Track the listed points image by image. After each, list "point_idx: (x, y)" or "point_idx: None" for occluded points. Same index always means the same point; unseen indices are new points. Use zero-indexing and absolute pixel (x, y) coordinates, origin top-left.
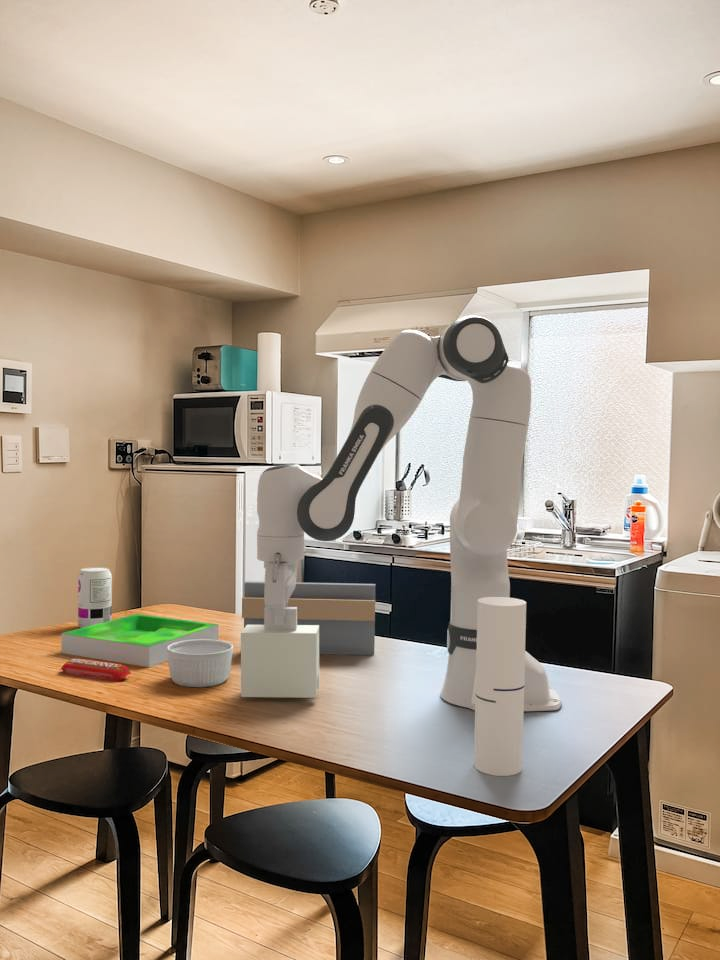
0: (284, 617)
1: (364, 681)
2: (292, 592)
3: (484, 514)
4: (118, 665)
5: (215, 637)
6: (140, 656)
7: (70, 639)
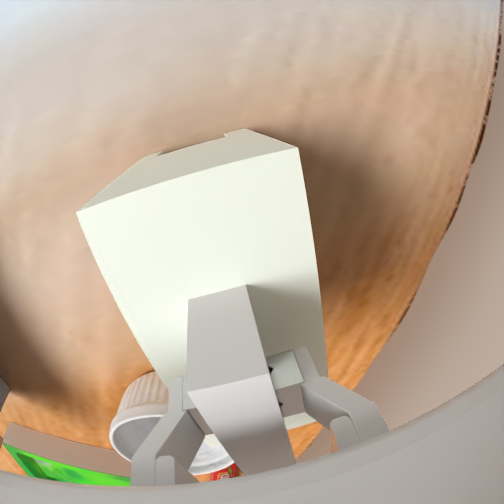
0: (294, 374)
1: (27, 90)
2: (86, 490)
3: None
4: (222, 474)
5: (12, 430)
6: None
7: None
